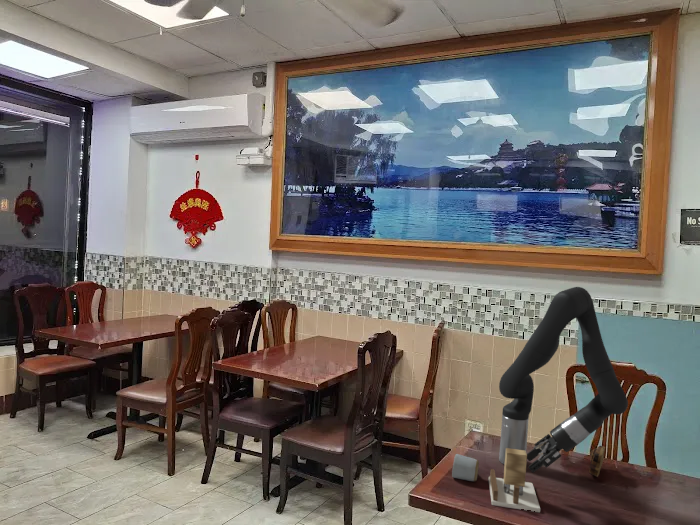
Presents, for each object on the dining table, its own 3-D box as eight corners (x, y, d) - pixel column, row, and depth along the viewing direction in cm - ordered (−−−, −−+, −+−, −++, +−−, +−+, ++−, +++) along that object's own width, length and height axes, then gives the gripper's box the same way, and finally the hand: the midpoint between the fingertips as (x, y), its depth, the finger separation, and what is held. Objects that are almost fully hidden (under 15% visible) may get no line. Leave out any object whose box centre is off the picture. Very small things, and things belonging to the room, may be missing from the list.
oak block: (522, 481, 165) (525, 450, 164) (524, 486, 161) (527, 455, 161) (503, 478, 166) (505, 447, 166) (504, 483, 162) (507, 452, 162)
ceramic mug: (476, 486, 169) (478, 462, 168) (451, 480, 171) (452, 458, 171) (478, 473, 179) (480, 451, 179) (455, 468, 181) (456, 447, 181)
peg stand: (531, 486, 171) (532, 483, 171) (540, 512, 154) (540, 508, 154) (488, 480, 173) (488, 476, 173) (491, 504, 157) (492, 501, 157)
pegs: (521, 490, 165) (522, 480, 165) (522, 496, 161) (523, 486, 161) (503, 487, 166) (504, 478, 166) (504, 493, 162) (505, 483, 162)
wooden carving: (589, 464, 192) (592, 438, 191) (603, 467, 189) (605, 441, 189) (586, 481, 177) (589, 452, 177) (601, 485, 175) (603, 456, 174)
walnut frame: (512, 480, 171) (513, 466, 171) (518, 504, 156) (519, 488, 156) (490, 477, 173) (491, 463, 173) (493, 500, 157) (494, 484, 157)
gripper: (557, 416, 167) (518, 446, 170) (565, 431, 153) (522, 463, 156) (573, 434, 166) (533, 464, 169) (583, 451, 152) (540, 483, 155)
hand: (528, 464), depth 162 cm, fingers open, 8 cm apart
